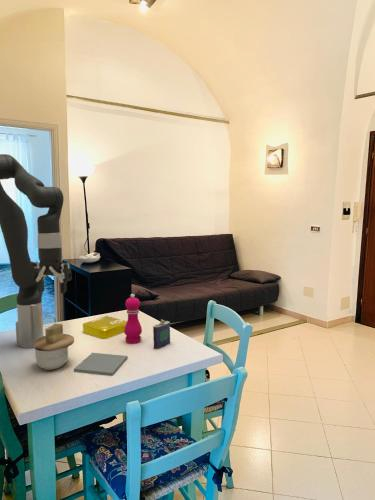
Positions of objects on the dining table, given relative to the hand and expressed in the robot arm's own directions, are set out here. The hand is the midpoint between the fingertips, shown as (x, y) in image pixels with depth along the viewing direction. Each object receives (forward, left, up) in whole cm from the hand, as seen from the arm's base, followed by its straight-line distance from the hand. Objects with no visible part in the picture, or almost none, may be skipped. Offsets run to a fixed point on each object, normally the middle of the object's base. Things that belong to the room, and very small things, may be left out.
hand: (52, 292), depth 129 cm
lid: (0, 0, -18) cm, 18 cm away
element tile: (+3, +36, -27) cm, 45 cm away
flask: (+32, +25, -26) cm, 49 cm away
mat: (+16, +3, -26) cm, 31 cm away
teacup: (0, 0, -26) cm, 26 cm away
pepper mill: (+19, +27, -26) cm, 42 cm away
